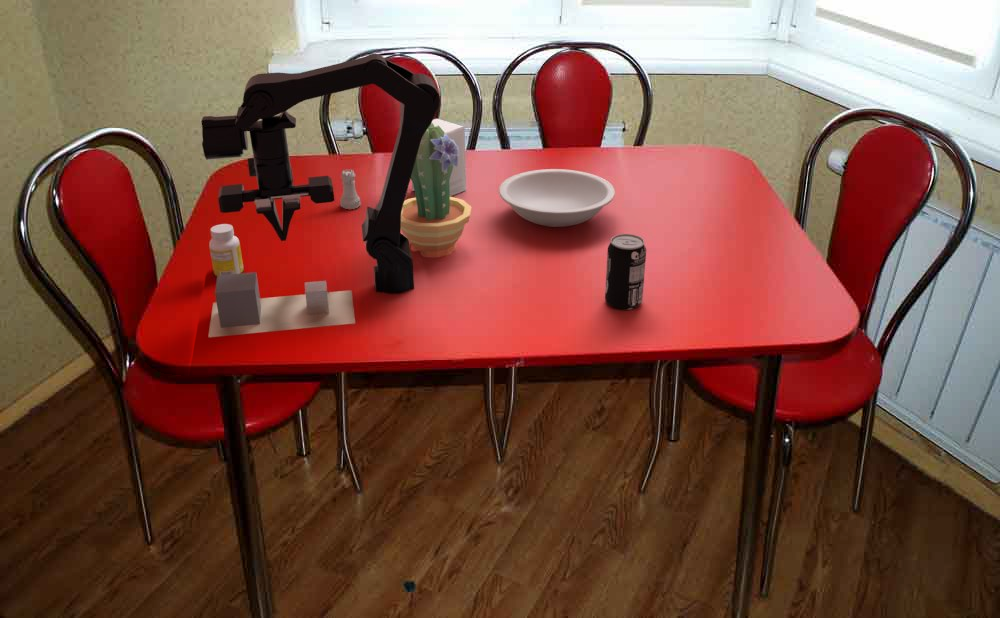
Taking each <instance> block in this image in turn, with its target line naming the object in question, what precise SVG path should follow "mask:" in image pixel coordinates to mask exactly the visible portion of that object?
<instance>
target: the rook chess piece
mask: <svg viewBox="0 0 1000 618" xmlns="http://www.w3.org/2000/svg"><path fill="white" fill-rule="evenodd" d="M356 176H357V175H356V173H355V172H354V170H352V169H345V170H342V171H341V174H340V178H341V180H342V182H341V184H342V186H343V189H342V195H341V197H340V204H339V205H340V207H341V208H342V207H343V208H345V209H344V210H346V209H353V210H356V209H355V208H357V209H358V207H359V206H360V207H361V205H362V203H361V198H360V196H359V195H358V194H357V189H356V185H355V184H356V181H355V178H356ZM360 207H359V208H360ZM343 208H342V209H343Z"/></svg>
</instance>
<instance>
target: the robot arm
mask: <svg viewBox="0 0 1000 618" xmlns="http://www.w3.org/2000/svg"><path fill="white" fill-rule="evenodd" d="M369 85H370V86H371V85H375V86H376V87H378V88H380V89H381V90H382V91H384V93H385V92H386V94H388V95H389V96H390V97H392V98H393V99H395V100H396V101H397V102H399V103H400V110H399V127H398V131H397V134H396V139H395V142H394V147H393V151H392V154H391V158H390V161H389V166H388V169H387V174H386V176H385V181H384V185H383V188H382V192H381V194H380V199H379V201H378V203H377V204H376V206H375V207H374V208H373V207H370V206H366V211H365V212H366V215H365V219H364V221H363V223H362V224H361V232H362V242H365V250H366V253H367V254H368V255H369V256H370V257H371V258H372V259H373V260H376V265H374V266H373V278H374V288H375V289H374V290H375V292H377V293H386V294H391V295H399V294H404V293H406V292H409V291H410V290H414V289H415V280H414V279H415V278H414V260H413V257H412V250H411V246H410V241H409V240H408V239H407V238H406V237H405V236H404V234H403V233H401V232H402V230H401V211H402V207H403V204H404V201H405V200H406V196H407V193H408V189H409V185H410V183H411V182H410V181H411V175H412V171H413V168H414V164H415V161H416V157H417V153H418V150H419V146H420V143H421V139H422V137H423V135H424V133H425V132H426V130H427V129H428V128H429V126H430V125H431V123H432V121H433V120H434V119H435V117H436V114H437V113H438V110H439V108H440V104H441V97H440V94H439V92H438V89H437V86H436V83H435V81H434V80H433V79H432V78H431V77H430V76H429V75H426V74H424V73H415V72H412V71H410V70H408V69H407V68H405V67H403V66H402V65H399V64H397V63H395V62H392V61H390V60H389V59H387V58H385V57H384V56H383V55H381V54H380V53H379V54H378V53H370V54H368V55H366V56H363V57H359V58H357V59H352V60H347V61H344V62H339V63H335V64H331V65H328V66H323V67H319V68H318V67H317V68H315V69H310V70H306V71H302V72H297V73H296V72H295V73H289V72H288V73H287V72H268V73H267V72H266V73H258V74H255V75H253V76H251V77H250V78H249V79H248V80H247V83H246V84H245V88H244V93H243V98H242V103H241V104H240V106H238V109H237V112H236V114H235V115H226V116H212V115H208V116H202V118H201V127H202V128H201V135H202V142H201V146H202V152H203V156H204V158H205V159H206V160H208V161H209V160H218V159H220V160H221V159H232V158H242V157H243V155H244V151H248V150H249V139H248V133H247V132H249V136H250V143H251V149H252V155H253V157H249V158H247V169H248V174H249V177H250V178H252V177H256V181H257V182H256V183H257V188H258V189H247V190H245V189H244V187H245V186H244V184H243V183H240V184H228V185H221V187H220V188H219V189H218V198H217V199H218V206H219V207H218V208H219V212H220V213H222V214H227V213H228V214H229V213H238V212H241V211H242V209H243V208H244V206H245V204H244V203H251V202H254V204H255V212H256V214H257V215H258V214H259V215H263V216H264V218H266V220H267V221H268V222H269V224H270V225H271V226H272V228H273V230H274V231H275V234H276V235H277V236H278V238H279V240H280V241H281V242H285V241H287V238H288V233H289V229H290V224H291V221H292V218H293V217H294V213H295V211H299V210H301V207H302V206H301V198H302V197H310V201H312V202H313V203H314V204H325V203H332V202H334V201H335V193H334V185H333V180H332V178H331V177H330V176H329V175H319V176H311V177H307V178H308V179H307V180H308V184H307V183H306V184H299V185H298V184H296V185H294V184H293V183H294V177H293V176H294V175H293V168H292V166H291V161H290V154H289V153H290V152H289V147H288V146H289V145H288V139H287V132H286V129H294V128H296V124H297V118H296V117H294V116H292V115H291V114H290V113H288V110H289V109H291V108H293V107H294V106H296V105H298V104H300V103H302V102H304V101H307V100H313V99H316V98H320V97H325V96H328V95H331V94H337V93H340V92H345V91H349V90H353V89H357V88H360V87H365V86H369ZM280 199H282V204H281V205H282V206H281V207H282V209H281V210H282V211H281V212H282V214H281V215H282V218H281V219H282V220H281V221H282V222H281V221H280V218H279V213H278V209H277V206H276V202H275V200H280ZM281 223H282V224H281Z"/></svg>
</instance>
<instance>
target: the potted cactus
mask: <svg viewBox="0 0 1000 618" xmlns="http://www.w3.org/2000/svg"><path fill="white" fill-rule="evenodd" d="M458 150H459V148H458V146H457V145H456V144H455V142H454V140H451V139H450V138H449V137H448V136H447V135H446V133H445V132H444V131H443V130H442V129H441V127H440V126H439V125H438V126H434V124H433V123H431V125H430V126H429V128H428V129H427V130H426V132H425V133H424V135H423V137H422V139H421V143H420V146H419V150H418V153H417V157H416V161H415V164H414V168H413V171H412V175H411V179H410V181H411V183H412V182H413V186H414V191H415V192H414V196H415V197H411V198H408V199H405V200H404V204H403V207H402V211H401V232H402V235H404V236H405V237H406V238H407V239H408V240H409V244H411V246H410V251H411V252H420V255H421V257H424V258H441V257H444V256H448V255H449V256H450V254H452V253H453V252H455V251H456V248H457V242H458V240H459V239H460V238H461V237H462V235H463V231H464V228H465V225H466V224H468V223H469V221H470V216H471V211H472V206H471V205H470V204H468V202H466V200H464V199H462V198H456V197H453V196H450V185H449V180H450V176H451V173H452V170H453V166H454V165H455V166H456V167H457V166H458V157H457V156H458V155H459V151H458Z"/></svg>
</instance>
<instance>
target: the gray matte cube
mask: <svg viewBox="0 0 1000 618" xmlns="http://www.w3.org/2000/svg"><path fill="white" fill-rule="evenodd" d="M259 288H260V287H259V282H258V276H257V272H255V271H254V272H243V273H241V274H229V275H218V276H216V284H215V290H214V296H215V300H216V301H215V303H216V302H217V308H218V314H219V320H220V326H221V328H224V327H235V326H245V325H256V324H260V315H261V302H260V298H261V296H260V290H259Z"/></svg>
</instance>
